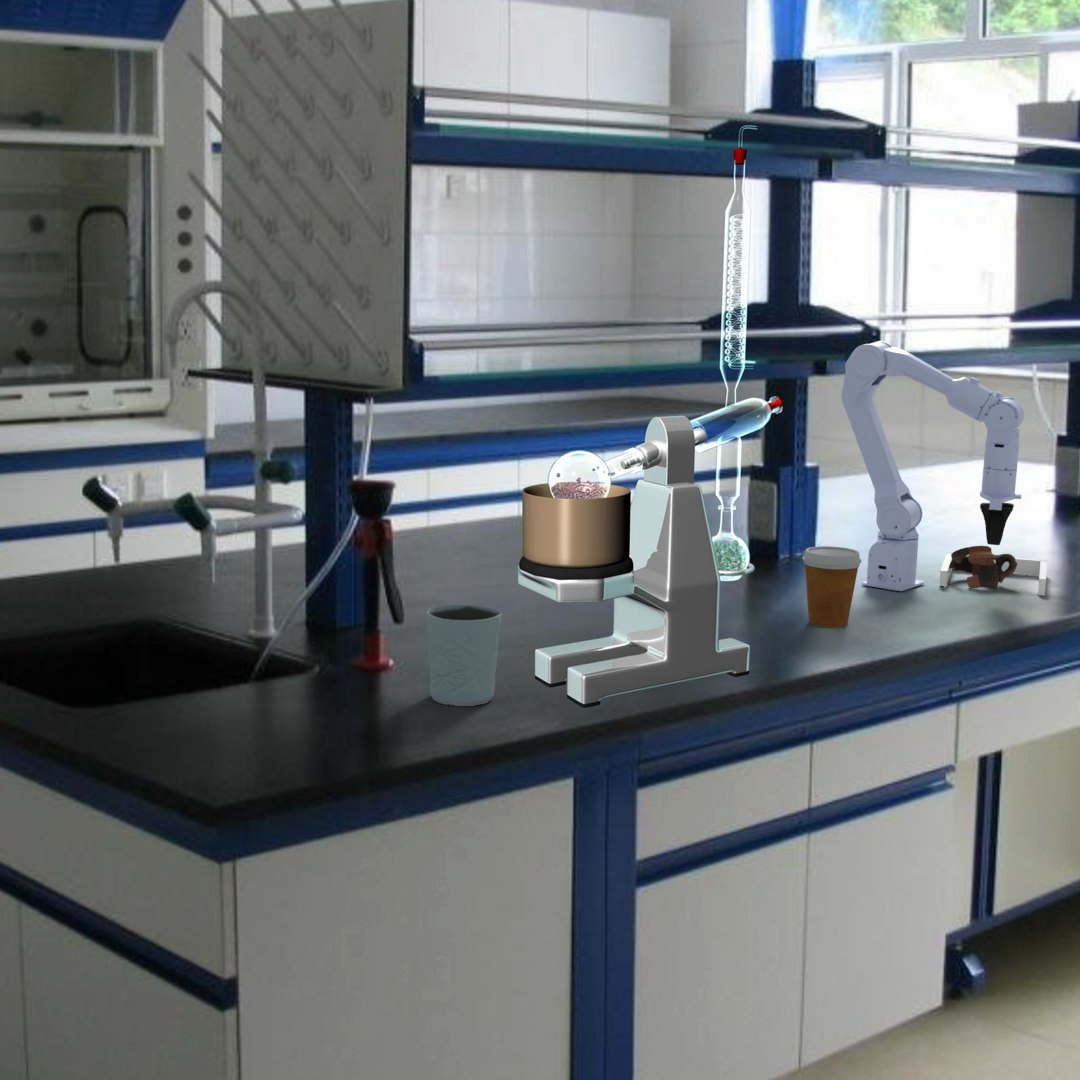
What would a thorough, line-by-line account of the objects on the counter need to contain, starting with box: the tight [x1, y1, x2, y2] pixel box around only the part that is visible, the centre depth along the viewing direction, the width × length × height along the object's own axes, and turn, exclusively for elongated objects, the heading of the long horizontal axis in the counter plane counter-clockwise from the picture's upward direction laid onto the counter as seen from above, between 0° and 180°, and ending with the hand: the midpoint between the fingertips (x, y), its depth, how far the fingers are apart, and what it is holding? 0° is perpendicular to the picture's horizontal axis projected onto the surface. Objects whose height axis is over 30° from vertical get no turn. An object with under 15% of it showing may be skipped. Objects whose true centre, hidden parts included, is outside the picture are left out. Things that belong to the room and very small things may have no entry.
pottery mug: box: [949, 545, 1017, 589], centre depth 325 cm, size 12×10×8 cm
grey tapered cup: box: [425, 604, 503, 703], centre depth 241 cm, size 10×10×12 cm
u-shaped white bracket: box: [939, 552, 1048, 596], centre depth 328 cm, size 18×18×3 cm
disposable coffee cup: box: [801, 545, 863, 628], centre depth 290 cm, size 10×10×12 cm
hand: (993, 544), depth 314 cm, fingers closed
